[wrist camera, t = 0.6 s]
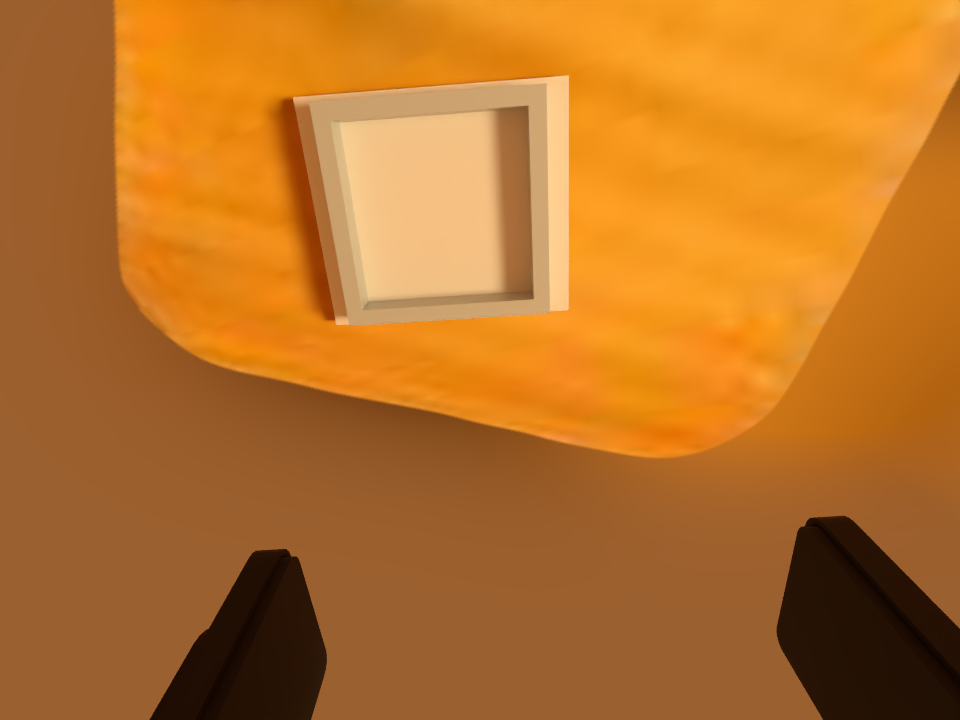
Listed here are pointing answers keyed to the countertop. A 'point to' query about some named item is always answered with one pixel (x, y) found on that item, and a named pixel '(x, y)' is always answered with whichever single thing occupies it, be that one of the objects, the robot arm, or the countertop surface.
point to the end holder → (441, 199)
